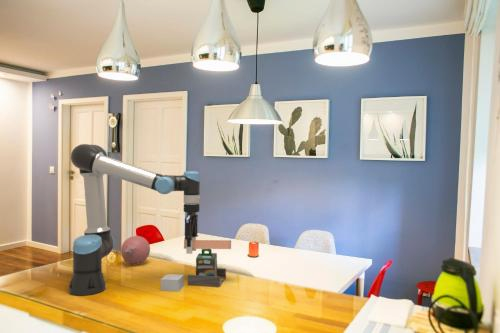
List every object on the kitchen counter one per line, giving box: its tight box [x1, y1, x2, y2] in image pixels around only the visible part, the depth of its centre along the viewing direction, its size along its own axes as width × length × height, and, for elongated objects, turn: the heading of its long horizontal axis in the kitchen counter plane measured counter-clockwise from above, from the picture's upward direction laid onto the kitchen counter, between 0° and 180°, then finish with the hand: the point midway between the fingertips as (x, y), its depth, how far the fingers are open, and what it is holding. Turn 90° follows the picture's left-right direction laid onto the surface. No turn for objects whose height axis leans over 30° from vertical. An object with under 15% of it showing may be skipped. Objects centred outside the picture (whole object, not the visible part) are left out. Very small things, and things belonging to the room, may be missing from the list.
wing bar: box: [183, 239, 232, 250], centre depth 188 cm, size 4×22×4 cm, turn 82°
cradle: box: [187, 267, 227, 288], centre depth 187 cm, size 14×15×4 cm
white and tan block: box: [160, 273, 185, 292], centre depth 177 cm, size 8×8×5 cm
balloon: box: [120, 235, 151, 265], centre depth 215 cm, size 15×20×15 cm
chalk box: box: [195, 249, 218, 276], centre depth 187 cm, size 9×9×15 cm
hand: (191, 251), depth 188 cm, fingers open, 5 cm apart
